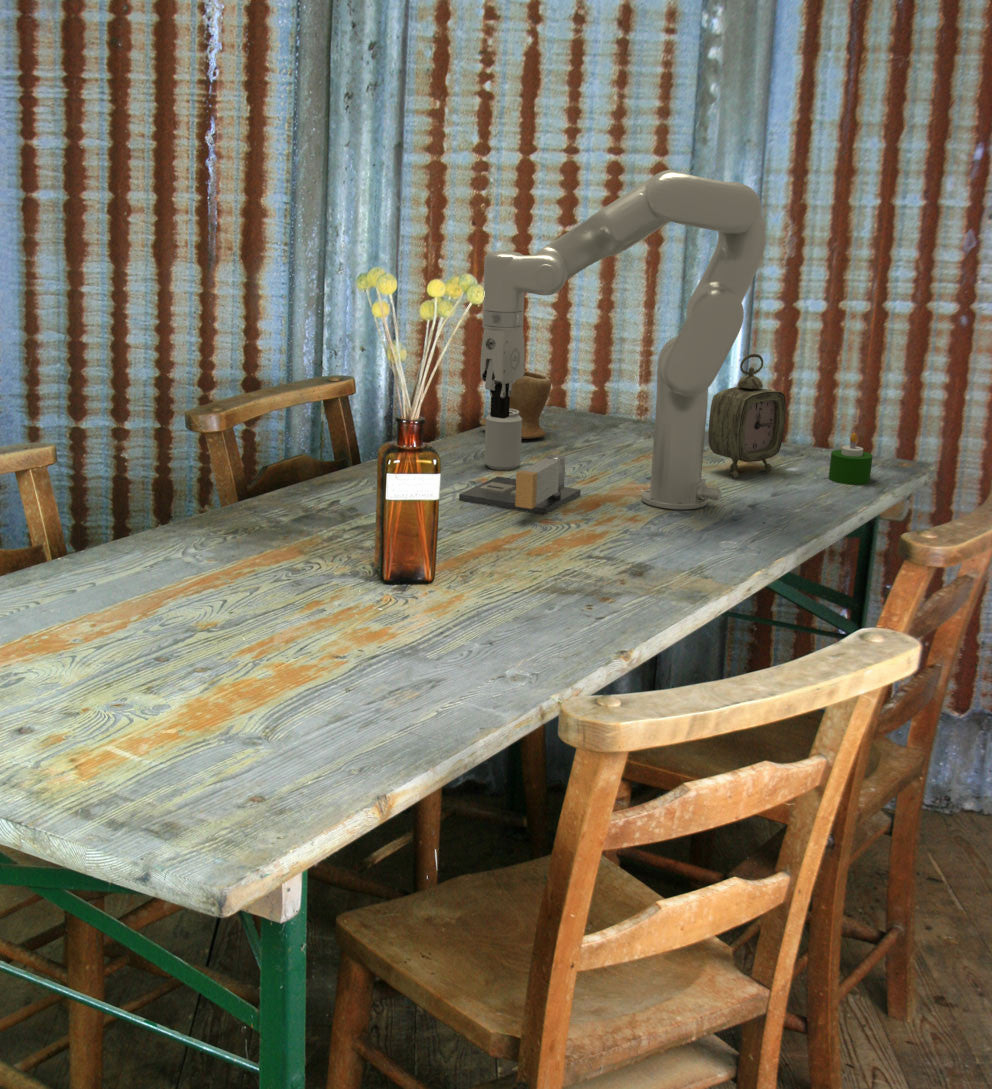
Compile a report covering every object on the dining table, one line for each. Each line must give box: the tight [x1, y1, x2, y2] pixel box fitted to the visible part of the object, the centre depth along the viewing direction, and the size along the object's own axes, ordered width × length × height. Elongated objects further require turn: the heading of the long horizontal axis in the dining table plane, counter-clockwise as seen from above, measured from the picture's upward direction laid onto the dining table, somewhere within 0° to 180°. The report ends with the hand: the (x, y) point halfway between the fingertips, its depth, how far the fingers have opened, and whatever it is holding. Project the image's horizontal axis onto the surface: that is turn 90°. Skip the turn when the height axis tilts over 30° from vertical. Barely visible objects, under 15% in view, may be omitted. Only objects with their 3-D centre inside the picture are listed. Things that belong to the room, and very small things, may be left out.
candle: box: [828, 432, 873, 486], centre depth 274 cm, size 8×8×10 cm
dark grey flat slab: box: [458, 476, 582, 516], centre depth 254 cm, size 18×16×3 cm
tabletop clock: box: [707, 353, 787, 479], centre depth 275 cm, size 14×9×25 cm, turn 129°
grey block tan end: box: [515, 454, 566, 509], centre depth 243 cm, size 17×4×6 cm, turn 156°
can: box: [483, 408, 522, 471], centre depth 275 cm, size 8×8×12 cm
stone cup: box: [480, 370, 552, 440], centre depth 304 cm, size 15×12×15 cm
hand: (499, 416), depth 252 cm, fingers closed
